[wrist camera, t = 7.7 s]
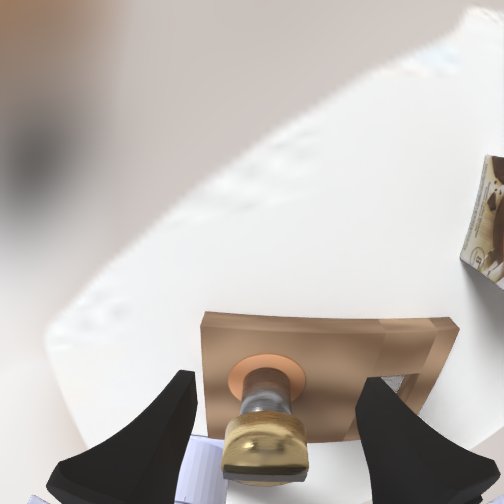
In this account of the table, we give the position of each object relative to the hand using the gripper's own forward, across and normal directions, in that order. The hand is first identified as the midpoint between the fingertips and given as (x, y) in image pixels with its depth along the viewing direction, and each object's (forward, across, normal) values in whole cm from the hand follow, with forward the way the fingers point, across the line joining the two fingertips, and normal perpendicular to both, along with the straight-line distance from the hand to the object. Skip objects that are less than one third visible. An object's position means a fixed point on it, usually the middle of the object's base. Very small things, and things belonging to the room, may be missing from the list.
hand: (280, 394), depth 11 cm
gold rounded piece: (+8, 0, +8) cm, 11 cm away
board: (+10, -6, +10) cm, 15 cm away
